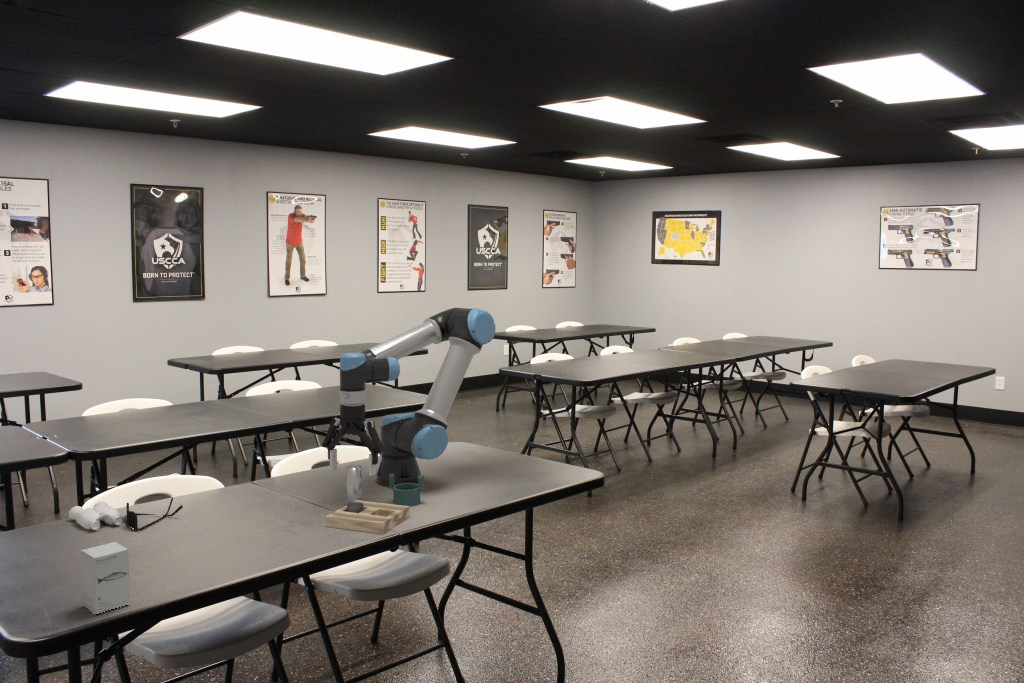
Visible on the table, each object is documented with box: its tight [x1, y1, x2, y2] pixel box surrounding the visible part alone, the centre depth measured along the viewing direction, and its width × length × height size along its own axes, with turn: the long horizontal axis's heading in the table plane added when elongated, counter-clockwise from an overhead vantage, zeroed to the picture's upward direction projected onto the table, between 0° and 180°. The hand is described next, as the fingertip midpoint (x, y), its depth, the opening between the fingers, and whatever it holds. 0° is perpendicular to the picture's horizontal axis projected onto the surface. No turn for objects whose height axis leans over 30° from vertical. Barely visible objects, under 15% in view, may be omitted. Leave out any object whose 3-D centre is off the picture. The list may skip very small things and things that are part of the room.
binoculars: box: [68, 500, 123, 531], centre depth 219 cm, size 10×16×5 cm, turn 45°
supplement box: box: [79, 541, 131, 615], centre depth 165 cm, size 7×7×13 cm
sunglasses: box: [125, 496, 184, 532], centre depth 222 cm, size 17×14×5 cm
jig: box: [326, 500, 411, 535], centre depth 221 cm, size 16×18×4 cm
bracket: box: [388, 474, 425, 508], centre depth 239 cm, size 9×9×9 cm
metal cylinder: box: [346, 464, 363, 505], centre depth 236 cm, size 4×4×12 cm
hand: (352, 472), depth 236 cm, fingers open, 13 cm apart
